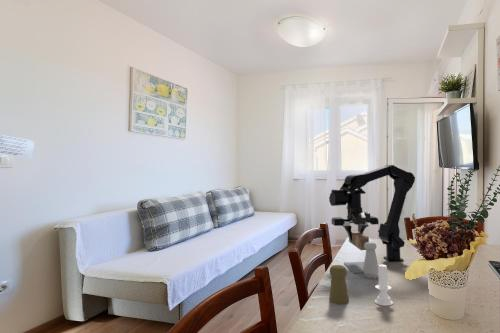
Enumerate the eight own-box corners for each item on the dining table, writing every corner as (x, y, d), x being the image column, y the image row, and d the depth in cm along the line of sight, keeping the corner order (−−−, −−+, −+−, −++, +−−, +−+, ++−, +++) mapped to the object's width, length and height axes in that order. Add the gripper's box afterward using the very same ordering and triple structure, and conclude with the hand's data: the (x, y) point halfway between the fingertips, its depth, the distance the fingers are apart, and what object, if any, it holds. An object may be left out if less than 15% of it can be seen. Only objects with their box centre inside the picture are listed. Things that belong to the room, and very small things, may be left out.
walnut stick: (348, 241, 159) (348, 230, 159) (356, 241, 159) (355, 230, 159) (361, 250, 143) (360, 237, 143) (369, 249, 143) (368, 237, 143)
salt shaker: (380, 279, 133) (379, 244, 133) (364, 279, 134) (363, 244, 134) (378, 274, 139) (377, 240, 139) (362, 274, 140) (361, 240, 140)
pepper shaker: (345, 305, 110) (344, 269, 110) (326, 302, 113) (325, 266, 113) (351, 299, 115) (350, 264, 115) (333, 296, 118) (331, 262, 118)
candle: (386, 307, 108) (385, 267, 108) (371, 302, 112) (369, 263, 112) (396, 302, 111) (395, 263, 111) (381, 298, 115) (380, 260, 115)
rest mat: (344, 263, 156) (344, 262, 156) (367, 263, 156) (367, 261, 156) (354, 273, 142) (353, 272, 142) (379, 272, 142) (379, 271, 142)
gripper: (337, 207, 147) (338, 246, 147) (383, 205, 148) (384, 244, 148) (330, 204, 158) (331, 240, 158) (373, 203, 159) (374, 238, 159)
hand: (355, 241), depth 156 cm, fingers closed on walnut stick, 3 cm apart
